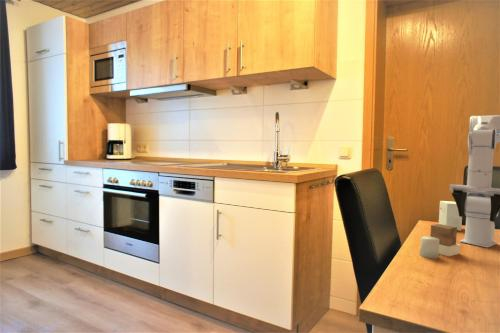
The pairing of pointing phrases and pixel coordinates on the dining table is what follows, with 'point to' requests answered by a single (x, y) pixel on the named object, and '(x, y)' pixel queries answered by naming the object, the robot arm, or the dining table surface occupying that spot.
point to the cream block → (449, 250)
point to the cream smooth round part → (429, 247)
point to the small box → (449, 214)
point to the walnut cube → (444, 234)
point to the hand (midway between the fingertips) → (476, 218)
